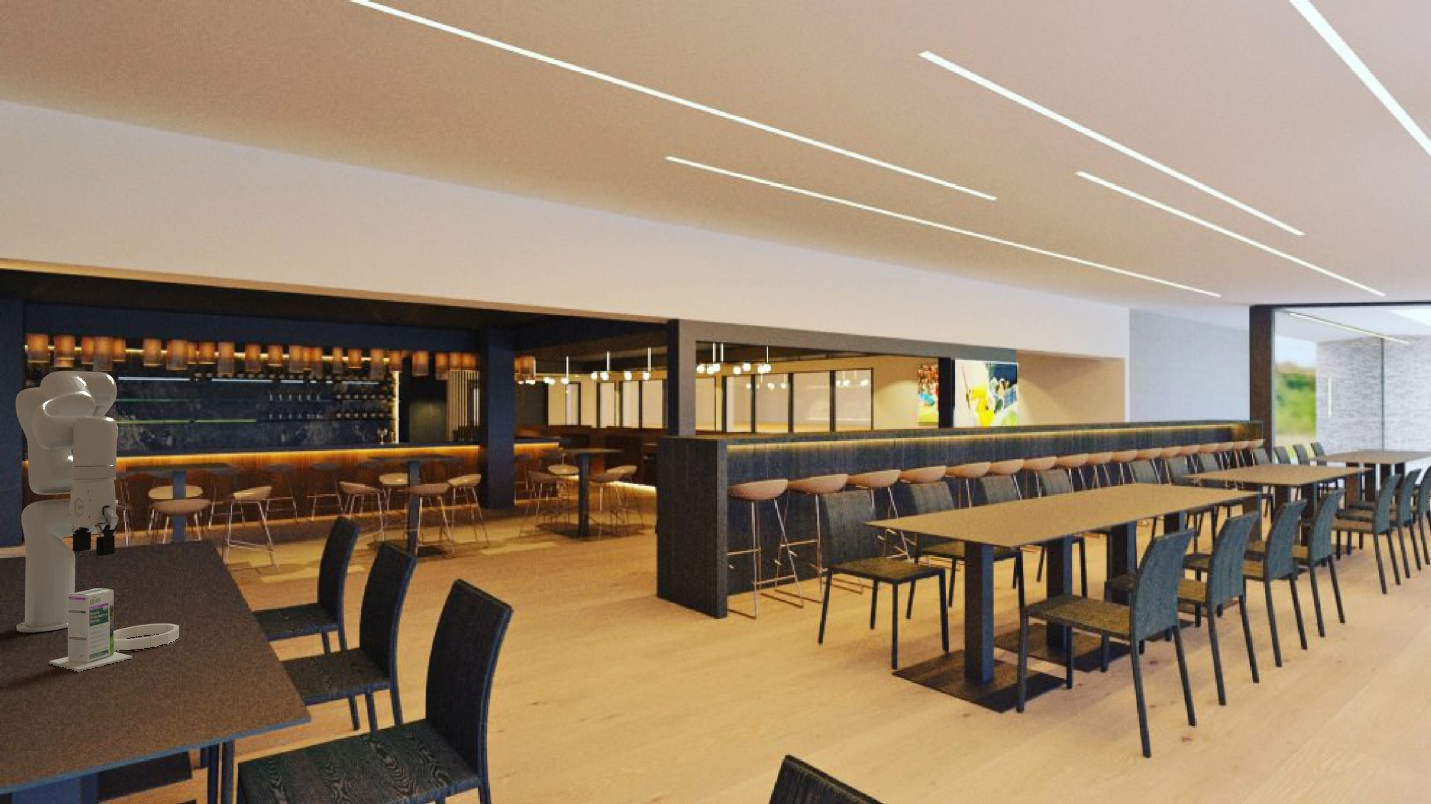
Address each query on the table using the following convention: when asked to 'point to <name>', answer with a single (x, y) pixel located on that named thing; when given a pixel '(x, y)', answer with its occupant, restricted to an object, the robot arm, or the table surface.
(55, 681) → the table surface
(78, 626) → the syrup box
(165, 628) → the ring dish
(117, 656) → the mat
